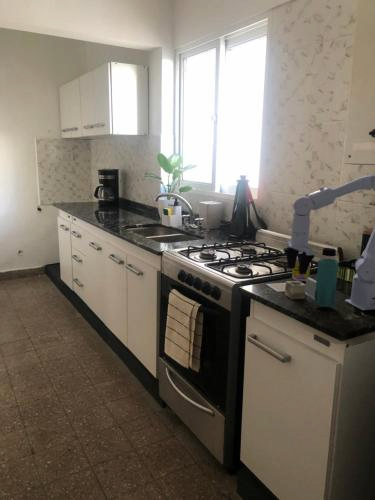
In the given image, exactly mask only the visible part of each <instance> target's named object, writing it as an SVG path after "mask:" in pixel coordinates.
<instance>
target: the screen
mask: <svg viewBox="0 0 375 500" xmlns="http://www.w3.org/2000/svg"><path fill="white" fill-rule="evenodd" d="M305 285H306V289H305V297H308V298H310V299H311V300H313V301H314V302H315V300H314V299H315V297H314V296H315V290H316V286H315V285H316V280H315V279H313V278H311V277H309V278H307V279H306V281H305Z"/></svg>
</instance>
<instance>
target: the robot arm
mask: <svg viewBox="0 0 375 500" xmlns="http://www.w3.org/2000/svg"><path fill="white" fill-rule="evenodd" d="M318 189H319V190H317V191H314V192H311V193H308V192H307V193H306V194H305V196H299V197H298V198H296V200H295V202H294V203H293V210H294V212H293V215H292V216H293V218H292V224H291V225H292V226H291V234H290V235H291V238H290V240H286V241H285V248H283V252H284V254H285V257H286V261H287V262H286V263H287V267H288V269H293V268H295V264H296V259H297V256H298V260H299V273H300V274H306V272H307V269H308V267H309V264H310V265H311V263H312V260H313V259H314V258H315V254H314V249H313V248H311V247H310V246H309V238H310V237H309V236H310V227H311V225H310V224H311V218H310V215H311V211H317V210H319V209H322V208H325V207H327V206H329V205H332V204H334V203H335V200H336V199H337V198H340V197H343V196H345V195H349V194H351V193H354V192H356V191H359V190H360V191H361V190H365V191H372V190H373V191H374V192H375V173H374V174H373V173H372V174H367V175H364V176H361V177H357V178H355V179H353V180H351V181H349V182H345V183H344V184H342V185H339V186H337V187H335V188H330V187H328V186H327V187H324V186H322V187H319V188H318ZM299 251H300V252H303V253H302V254H298V253H299ZM310 262H311V263H310ZM354 268H355V271H356V272H355V274H354V275H353V277H352V286H351V293H350V299H349V298H347V299H344V302H346V303H348V304H350V305H351V306H354V307H355V308H357V309H359V310H361V311H370V310H375V225H374V226H373V229H372V232H371V235H370V237H369V239H368V241H367V244H366V246H365V249H364V250H363V251H362V254H361V256H360V257H358V259H357V260H355V263H354Z"/></svg>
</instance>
